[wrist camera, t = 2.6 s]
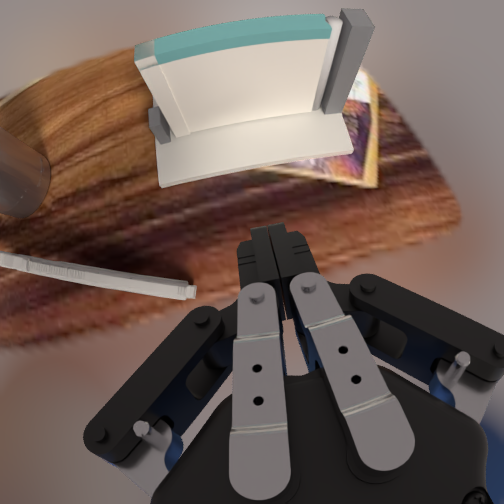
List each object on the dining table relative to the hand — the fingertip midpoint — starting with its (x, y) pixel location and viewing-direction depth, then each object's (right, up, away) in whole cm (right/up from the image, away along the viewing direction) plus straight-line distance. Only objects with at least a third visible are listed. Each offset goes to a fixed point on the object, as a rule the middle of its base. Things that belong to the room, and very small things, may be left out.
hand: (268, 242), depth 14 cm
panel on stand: (-1, +16, +19) cm, 25 cm away
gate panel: (-1, +14, +18) cm, 23 cm away
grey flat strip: (-21, -3, +18) cm, 28 cm away
